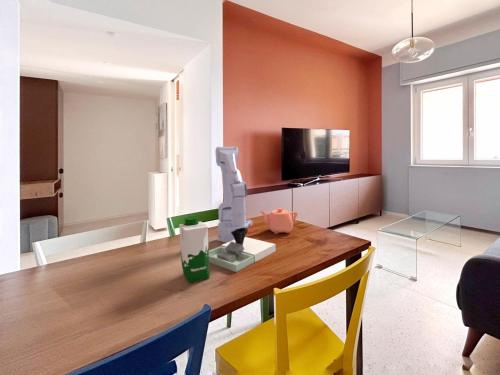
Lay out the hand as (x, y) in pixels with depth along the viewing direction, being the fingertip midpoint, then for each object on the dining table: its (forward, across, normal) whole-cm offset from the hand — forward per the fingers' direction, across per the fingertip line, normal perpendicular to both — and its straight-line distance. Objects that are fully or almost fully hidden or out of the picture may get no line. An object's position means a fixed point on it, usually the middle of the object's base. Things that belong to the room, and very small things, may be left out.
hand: (239, 246), depth 108 cm
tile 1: (+1, -8, 0) cm, 8 cm away
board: (+4, +6, 0) cm, 7 cm away
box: (+4, -7, 0) cm, 8 cm away
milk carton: (+4, -22, 0) cm, 23 cm away
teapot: (+4, +36, +5) cm, 37 cm away
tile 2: (+1, -2, 0) cm, 3 cm away
